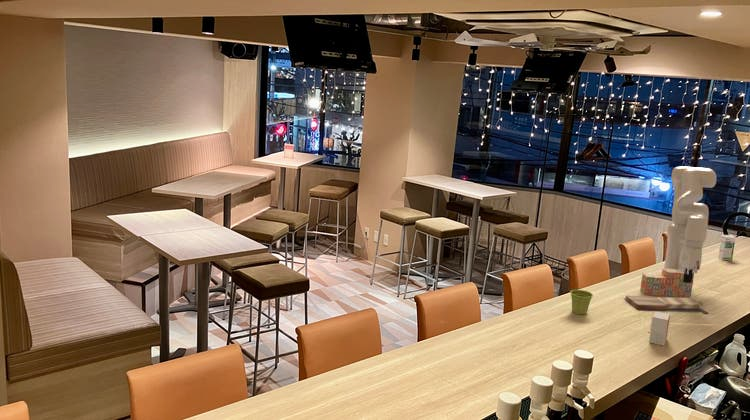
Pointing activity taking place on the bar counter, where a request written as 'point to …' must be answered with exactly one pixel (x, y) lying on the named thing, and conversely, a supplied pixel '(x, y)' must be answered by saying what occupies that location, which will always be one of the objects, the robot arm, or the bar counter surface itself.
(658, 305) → the laid board
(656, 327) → the small box
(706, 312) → the underlay mat
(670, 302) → the plank
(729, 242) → the syrup box
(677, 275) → the stack of blocks
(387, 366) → the bar counter surface
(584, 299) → the plant pot
